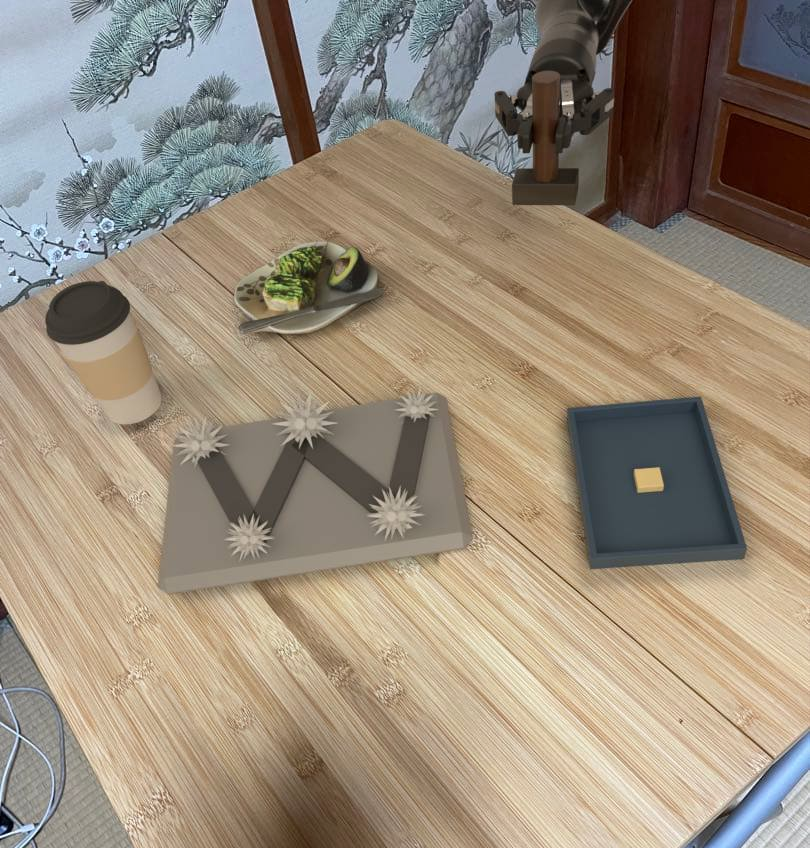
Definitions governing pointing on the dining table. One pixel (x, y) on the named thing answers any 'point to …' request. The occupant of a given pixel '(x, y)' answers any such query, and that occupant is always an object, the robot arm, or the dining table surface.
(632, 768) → the dining table surface
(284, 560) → the constellation board
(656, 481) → the crumb
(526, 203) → the wooden peg on stand
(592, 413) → the tray
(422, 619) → the dining table surface
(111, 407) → the coffee cup
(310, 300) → the avocado toast plate
